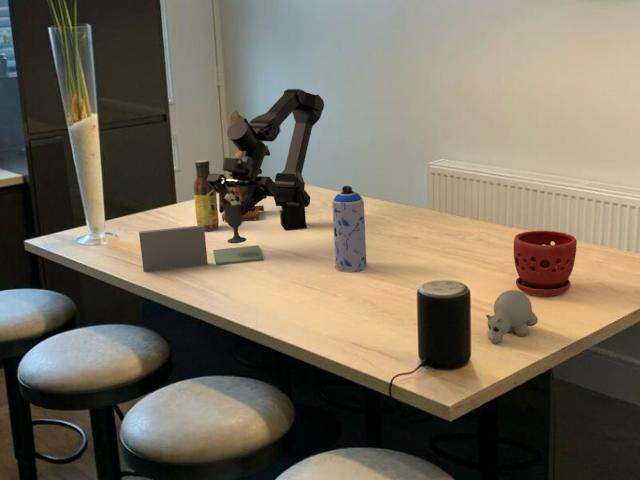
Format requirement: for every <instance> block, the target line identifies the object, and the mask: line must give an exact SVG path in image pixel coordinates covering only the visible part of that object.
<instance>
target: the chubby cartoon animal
mask: <svg viewBox="0 0 640 480" xmlns="http://www.w3.org/2000/svg"><path fill="white" fill-rule="evenodd" d="M531 302H532V301H531V300H530V298H529V297H528V295H526V293H525V292H523V291H521V290H520V291H519V290H514V289H511V290H506V291H503V292H501V293H500V294H499V295H498V296H497V298H496V299H495V301H494V304H493V313H494V314H493V315H489V314H485V317H486V318H487V328H488V329H489V331H487V334H486V335H487V339H488V340H489V341H490V342H491V343H493V344H499V343H501V342H502V341H503V339H504V336H505V335H506V334H507V333H511V332H513V331H515V334H516V335H517V336H518V337H524V336H527V335H528V334H529V333H530V328H529V327H533V326H535V325H537V324H538V320H539V319H538V316H537V315H536V313H534V312H533V307H532V303H531Z"/></svg>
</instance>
